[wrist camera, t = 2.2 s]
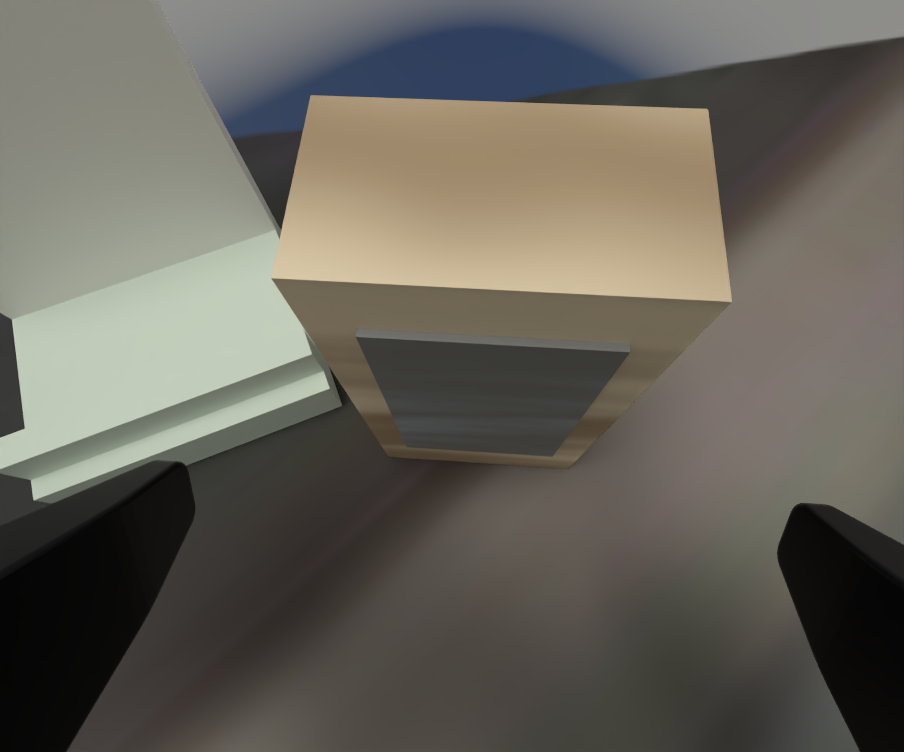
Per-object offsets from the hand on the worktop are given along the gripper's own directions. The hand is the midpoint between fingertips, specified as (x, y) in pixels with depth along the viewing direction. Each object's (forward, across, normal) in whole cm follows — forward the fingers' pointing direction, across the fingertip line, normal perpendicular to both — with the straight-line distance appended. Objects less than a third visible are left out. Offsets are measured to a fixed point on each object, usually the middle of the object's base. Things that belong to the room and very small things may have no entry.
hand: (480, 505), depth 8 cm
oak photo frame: (+11, 0, +5) cm, 12 cm away
